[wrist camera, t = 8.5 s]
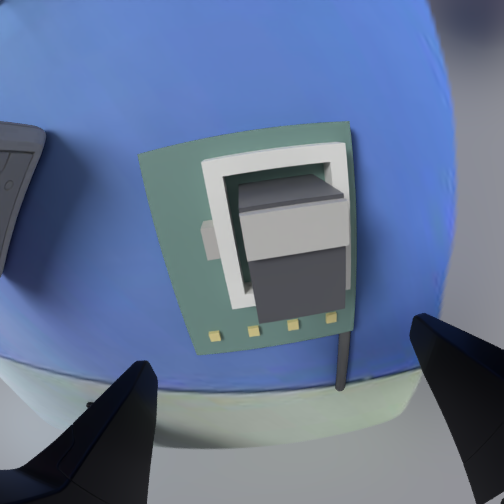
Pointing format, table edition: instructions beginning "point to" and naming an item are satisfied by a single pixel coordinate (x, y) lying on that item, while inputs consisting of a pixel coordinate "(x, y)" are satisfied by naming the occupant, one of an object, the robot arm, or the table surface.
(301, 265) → the plug
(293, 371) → the table surface
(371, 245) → the table surface
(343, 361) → the lead
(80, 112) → the table surface
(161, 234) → the header board
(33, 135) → the digital clock
